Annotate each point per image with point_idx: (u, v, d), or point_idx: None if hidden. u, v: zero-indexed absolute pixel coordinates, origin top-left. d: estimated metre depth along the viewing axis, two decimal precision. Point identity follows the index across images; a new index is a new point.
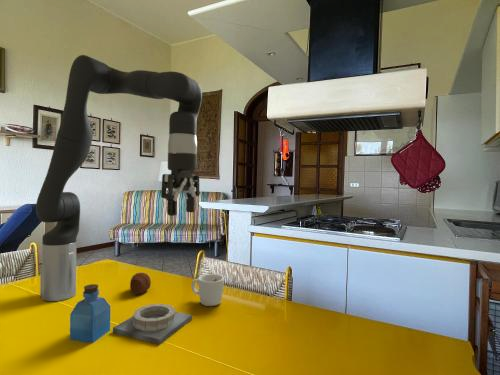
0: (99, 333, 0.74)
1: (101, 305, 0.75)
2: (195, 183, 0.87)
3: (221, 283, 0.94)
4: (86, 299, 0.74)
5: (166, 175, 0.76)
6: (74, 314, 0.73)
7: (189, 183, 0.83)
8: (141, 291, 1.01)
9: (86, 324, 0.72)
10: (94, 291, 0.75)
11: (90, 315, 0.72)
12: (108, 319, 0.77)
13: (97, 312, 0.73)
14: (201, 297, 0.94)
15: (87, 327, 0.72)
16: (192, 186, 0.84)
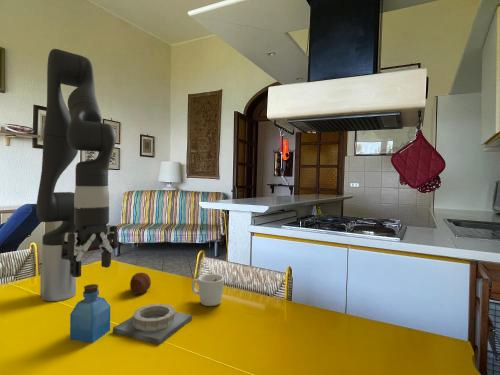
0: (99, 333, 0.74)
1: (101, 305, 0.75)
2: (112, 235, 0.80)
3: (221, 283, 0.94)
4: (86, 299, 0.74)
5: (66, 234, 0.69)
6: (74, 314, 0.73)
7: (100, 238, 0.76)
8: (141, 291, 1.01)
9: (86, 324, 0.72)
10: (94, 291, 0.75)
11: (90, 315, 0.72)
12: (108, 319, 0.77)
13: (97, 312, 0.73)
14: (201, 297, 0.94)
15: (87, 327, 0.72)
16: (105, 240, 0.77)
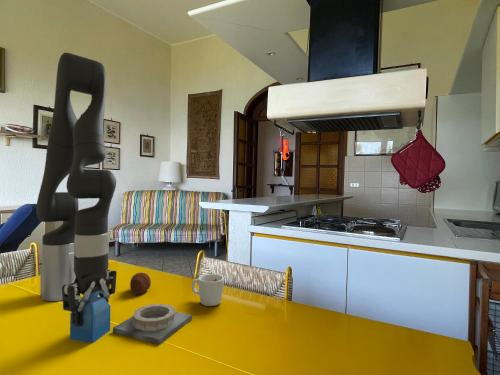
0: (99, 333, 0.74)
1: (102, 304, 0.75)
2: (110, 280, 0.80)
3: (221, 283, 0.94)
4: None
5: (65, 287, 0.69)
6: None
7: (99, 284, 0.76)
8: (141, 291, 1.01)
9: (86, 323, 0.72)
10: (94, 291, 0.75)
11: (91, 315, 0.72)
12: (108, 319, 0.77)
13: (97, 312, 0.73)
14: (201, 297, 0.94)
15: (87, 327, 0.72)
16: (104, 287, 0.77)
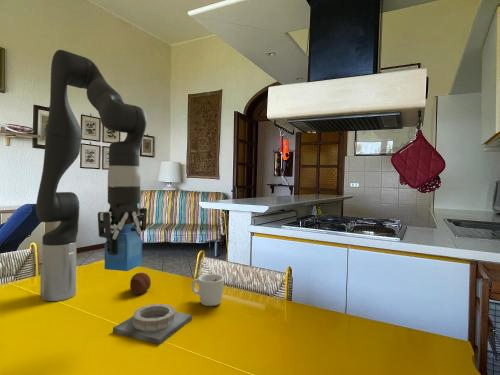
0: (132, 263, 0.76)
1: (134, 237, 0.77)
2: (141, 216, 0.82)
3: (221, 283, 0.94)
4: None
5: (101, 214, 0.71)
6: None
7: (132, 217, 0.77)
8: (141, 291, 1.01)
9: (120, 252, 0.74)
10: (127, 223, 0.76)
11: (124, 244, 0.74)
12: (140, 252, 0.79)
13: (131, 242, 0.75)
14: (201, 297, 0.94)
15: (121, 256, 0.74)
16: (136, 220, 0.78)
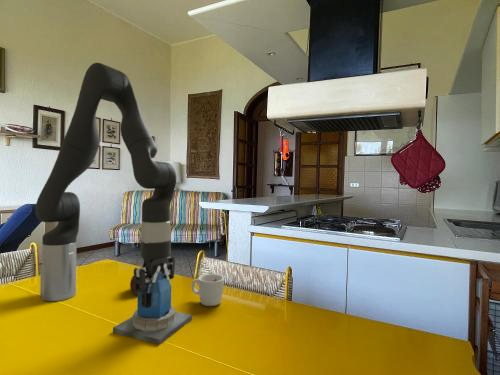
0: (163, 310, 0.79)
1: (165, 283, 0.81)
2: (170, 265, 0.85)
3: (221, 283, 0.94)
4: None
5: (137, 271, 0.74)
6: None
7: (163, 269, 0.81)
8: None
9: (153, 300, 0.78)
10: None
11: (157, 292, 0.77)
12: (169, 297, 0.83)
13: (162, 290, 0.79)
14: (201, 297, 0.94)
15: (154, 303, 0.77)
16: (166, 271, 0.82)
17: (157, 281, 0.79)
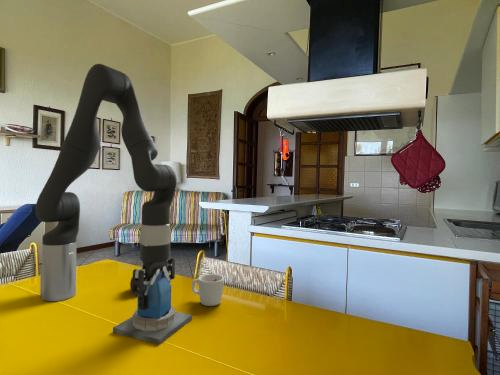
0: (163, 310, 0.79)
1: (165, 283, 0.81)
2: (170, 267, 0.86)
3: (221, 283, 0.94)
4: None
5: (136, 271, 0.74)
6: None
7: (162, 271, 0.81)
8: None
9: (153, 300, 0.78)
10: None
11: (157, 292, 0.77)
12: (169, 297, 0.83)
13: (162, 290, 0.79)
14: (201, 297, 0.94)
15: (154, 303, 0.77)
16: (166, 273, 0.82)
17: (157, 281, 0.79)
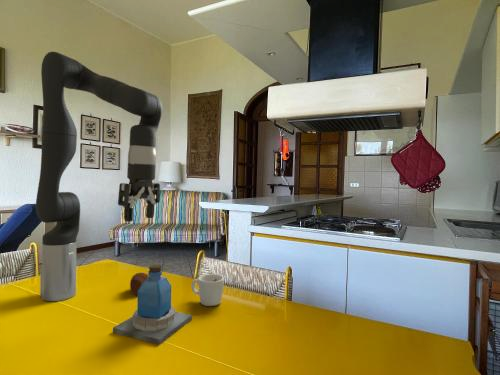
0: (163, 310, 0.79)
1: (165, 283, 0.81)
2: (155, 191, 0.93)
3: (221, 283, 0.94)
4: (151, 278, 0.79)
5: (123, 184, 0.82)
6: (142, 291, 0.78)
7: (147, 191, 0.89)
8: None
9: (153, 300, 0.78)
10: (158, 271, 0.80)
11: (157, 292, 0.77)
12: (169, 297, 0.83)
13: (162, 290, 0.79)
14: (201, 297, 0.94)
15: (154, 303, 0.77)
16: (151, 194, 0.90)
17: (157, 281, 0.79)
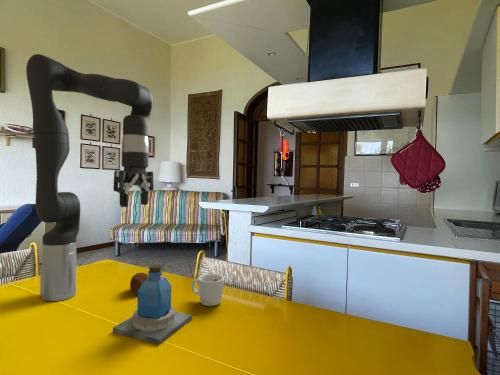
0: (163, 310, 0.79)
1: (165, 283, 0.81)
2: (149, 179, 0.97)
3: (221, 283, 0.94)
4: (151, 278, 0.79)
5: (117, 171, 0.86)
6: (142, 291, 0.78)
7: (141, 178, 0.93)
8: None
9: (153, 300, 0.78)
10: (158, 271, 0.80)
11: (157, 292, 0.77)
12: (169, 297, 0.83)
13: (162, 290, 0.79)
14: (201, 297, 0.94)
15: (154, 303, 0.77)
16: (145, 181, 0.94)
17: (157, 281, 0.79)
